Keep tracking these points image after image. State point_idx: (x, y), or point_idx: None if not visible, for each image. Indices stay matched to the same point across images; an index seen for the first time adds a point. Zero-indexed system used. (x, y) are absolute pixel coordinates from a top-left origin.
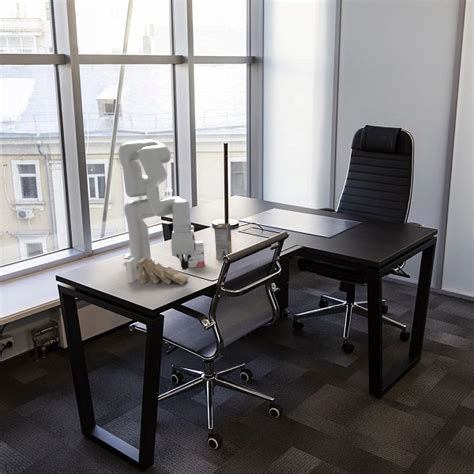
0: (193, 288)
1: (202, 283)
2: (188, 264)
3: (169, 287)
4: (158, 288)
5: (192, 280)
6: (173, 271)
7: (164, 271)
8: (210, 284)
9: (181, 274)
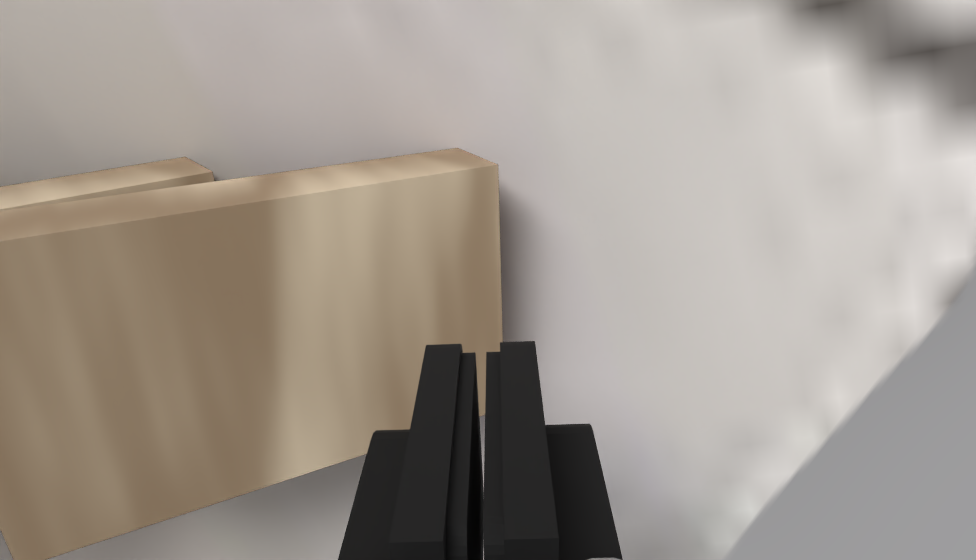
0: (687, 456)
1: (792, 240)
2: (598, 463)
3: (310, 472)
4: (175, 523)
5: (561, 117)
6: (165, 350)
7: (34, 551)
8: (946, 263)
9: (353, 247)
